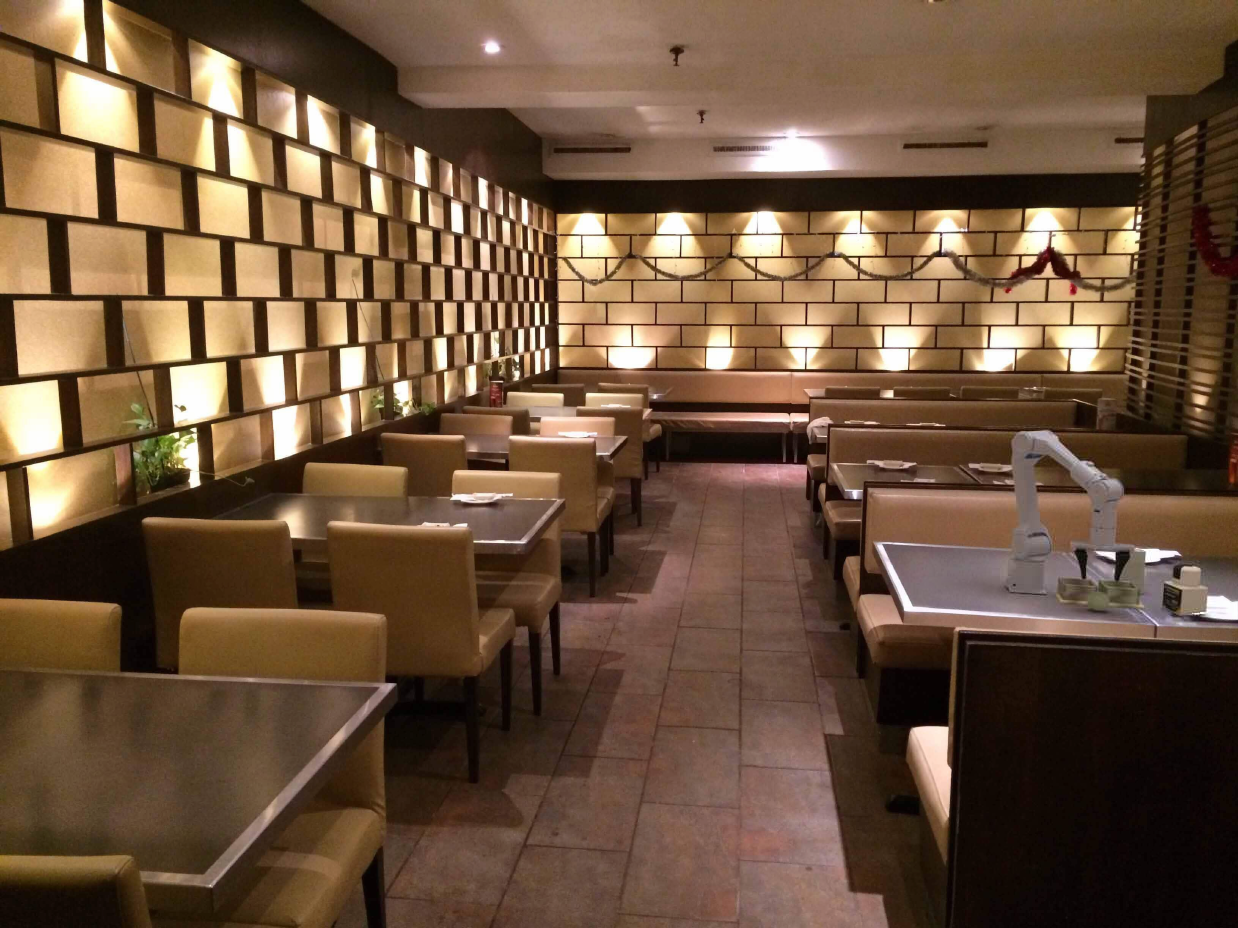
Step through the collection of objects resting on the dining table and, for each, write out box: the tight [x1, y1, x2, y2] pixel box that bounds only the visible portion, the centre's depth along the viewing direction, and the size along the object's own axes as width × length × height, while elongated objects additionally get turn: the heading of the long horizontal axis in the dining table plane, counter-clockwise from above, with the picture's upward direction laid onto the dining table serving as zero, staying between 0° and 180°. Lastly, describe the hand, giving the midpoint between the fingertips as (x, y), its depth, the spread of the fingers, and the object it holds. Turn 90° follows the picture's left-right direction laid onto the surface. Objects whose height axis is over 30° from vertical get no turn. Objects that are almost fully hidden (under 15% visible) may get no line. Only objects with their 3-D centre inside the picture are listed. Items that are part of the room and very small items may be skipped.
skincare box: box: [1119, 547, 1147, 595], centre depth 265 cm, size 6×4×12 cm
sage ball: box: [1088, 592, 1109, 612], centre depth 247 cm, size 5×5×5 cm
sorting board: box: [1053, 576, 1146, 610], centre depth 256 cm, size 20×11×5 cm, turn 75°
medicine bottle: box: [1161, 563, 1209, 617], centre depth 246 cm, size 7×7×12 cm
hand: (1099, 579), depth 246 cm, fingers open, 7 cm apart
